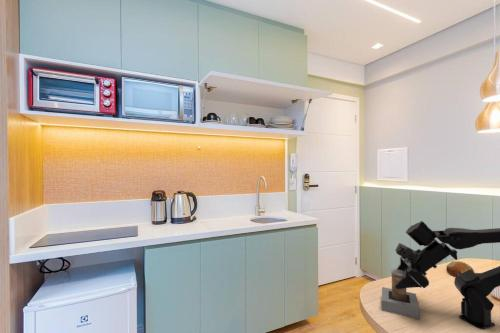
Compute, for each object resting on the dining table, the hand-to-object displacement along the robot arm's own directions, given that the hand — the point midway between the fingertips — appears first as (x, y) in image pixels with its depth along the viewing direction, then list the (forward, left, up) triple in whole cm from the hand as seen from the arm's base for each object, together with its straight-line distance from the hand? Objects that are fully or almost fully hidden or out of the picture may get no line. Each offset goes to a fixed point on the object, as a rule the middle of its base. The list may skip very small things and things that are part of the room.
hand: (394, 282), depth 90 cm
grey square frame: (-1, -1, -9) cm, 9 cm away
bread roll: (+11, -50, -9) cm, 52 cm away
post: (-1, -1, -9) cm, 9 cm away
